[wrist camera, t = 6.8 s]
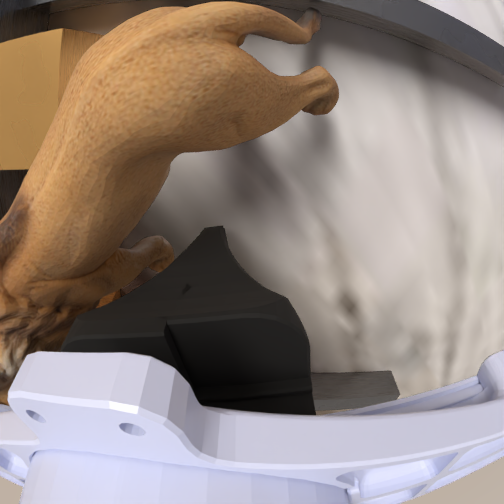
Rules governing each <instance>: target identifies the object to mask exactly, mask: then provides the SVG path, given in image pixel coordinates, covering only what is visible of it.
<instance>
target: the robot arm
mask: <svg viewBox="0 0 504 504" xmlns="http://www.w3.org/2000/svg"><path fill="white" fill-rule="evenodd" d="M312 392H313V388H312V382H311V376H310V344H309V340H308V337H307V334H306V331H305V329H304V327H303V325H302V322H301V320H300V319H299V317H298V315H297V313H296V311H295V310H294V308H293V307H292V305H291V303H290V302H289V300H288V299H287V298H286V297H284V296H282V295H279V294H277V293H275V292H272V291H270V290H268V289H266V288H265V287H263V286H262V285H260V284H259V283H258V282H257V281H255V280H254V279H253V278H251V277H250V276H249V275H248V274H247V273H246V272H245V271H244V269H243V268H242V267H241V266H240V265H239V263H238V262H237V261H236V259H235V258H234V256H233V255H232V253H231V251H230V249H229V247H228V243H227V238H226V233H225V228H223V226H216V227H208V228H204V229H203V231H202V232H201V234H200V235H199V236H198V237H197V238H196V239H195V240H194V241H193V243H192V244H191V245H190V246H189V247H188V248H187V249H186V250H185V251H184V252H183V253H182V254H181V255H180V256H179V257H178V258H176V259H175V260H174V261H173V262H172V263H171V264H170V265H169V266H168V267H167V268H165V269H164V270H163V271H162V272H160V273H159V274H158V275H156V276H155V277H154V278H152V279H151V280H149V281H148V282H146V283H145V284H143V285H141V286H140V287H138V288H137V289H135V290H133V291H132V292H130V293H128V294H126V295H124V296H123V297H121V298H119V299H117V300H114V301H112V302H110V303H108V304H106V305H104V306H101V307H98V308H96V309H93V310H91V311H88V312H85V313H83V314H80V315H77V317H76V319H75V321H74V323H73V324H72V326H71V328H70V330H69V332H68V334H67V336H66V338H65V340H64V342H63V344H62V346H61V351H60V352H45V351H39V352H35V353H32V354H28V355H27V356H26V358H25V360H24V362H23V363H22V365H21V367H20V369H19V371H18V373H17V375H16V377H15V379H14V381H13V383H12V385H11V387H10V389H9V391H8V403H9V405H10V406H7V405H3V404H0V476H1V477H3V478H5V479H7V480H9V481H12V482H13V483H15V484H18V485H20V486H22V487H23V490H22V494H21V497H20V501H19V504H400V503H403V502H406V501H408V500H411V499H414V498H417V497H419V496H421V495H424V494H427V493H429V492H431V491H434V490H436V489H438V488H441V487H443V486H445V485H447V484H450V483H452V482H454V481H456V480H458V479H460V478H463V477H464V476H467V475H469V474H471V473H473V472H475V471H477V470H479V469H481V468H483V467H485V466H486V465H488V464H490V463H492V462H494V461H496V460H498V459H500V458H502V457H503V456H504V350H502V351H499V352H497V353H494V354H492V355H490V356H489V357H488V358H486V359H485V360H484V362H483V363H482V365H481V366H480V368H479V371H478V374H477V375H476V376H473V377H470V378H468V379H465V380H462V381H459V382H456V383H453V384H450V385H447V386H444V387H440V388H437V389H434V390H431V391H427V392H424V393H420V394H417V395H413V396H409V397H405V398H402V399H398V400H394V401H389V402H385V403H381V404H377V405H372V406H367V407H363V408H358V409H353V410H347V411H342V412H336V413H330V414H324V415H316V412H315V406H314V400H313V394H312Z"/></svg>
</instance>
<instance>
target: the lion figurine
mask: <svg viewBox="0 0 504 504" xmlns="http://www.w3.org/2000/svg"><path fill="white" fill-rule="evenodd" d="M321 20H322V18H321V13H320V11H319V10H317V9H315V8H312V7H309V8H308V9H307V10H306V11H305V12H304V14H303V15H302V17H301V18H300V19H298V20H297V22H296V23H295V22H294V21H292V20H291V19H289V18H288V17H286V16H284V15H282V14H280V13H278V12H276V11H274V10H271V9H268V8H265V7H262V6H259V5H253V4H247V3H240V2H230V1H225V2H209V3H204V4H199V5H194V6H190V7H187V8H186V7H159V8H155V9H151V10H149V11H146V12H144V13H141V14H139V15H137V16H134V17H132V18H130V19H128V20H126V21H125V22H123V23H122V24H120V25H119V26H117V27H116V28H114V29H113V30H111V31H110V32H109V33H107V34H106V35H104V36H103V37H102V38H100V39H99V40H98V41H97V42H96V43H94V44H93V45H92V46H91V47H90V48H89V49H88V50H87V51H86V52H85V53H84V54H83V56H82V57H81V59H80V60H79V62H78V63H77V65H76V67H75V69H74V71H73V73H72V75H71V78H70V80H69V83H68V85H67V87H66V90H65V92H64V95H63V97H62V100H61V103H60V105H59V107H58V110H57V112H56V115H55V117H54V120H53V122H52V124H51V126H50V128H49V131H48V133H47V135H46V137H45V139H44V141H43V143H42V146H41V148H40V150H39V152H38V154H37V155H36V157H35V159H34V161H33V163H32V165H31V167H30V169H29V170H28V172H27V174H26V176H25V178H24V180H23V182H22V185H21V187H20V189H19V191H18V193H17V195H16V198H15V200H14V202H13V204H12V205H11V207H10V209H9V211H8V212H7V214H6V215H5V216H4V217H3V218H2V219H1V221H0V404H3V405H7V406H10V405H9V403H8V391H9V389H10V387H11V385H12V383H13V381H14V379H15V377H16V375H17V373H18V371H19V369H20V367H21V365H22V363H23V362H24V360H25V358H26V356H27V355H28V354H32V353H35V352H39V351H45V352H60V351H61V346H62V344H63V342H64V340H65V338H66V336H67V334H68V332H69V330H70V328H71V326H72V324H73V323H74V321H75V319H76V317H77V315H80V314H83V313H85V312H88V311H91V310H93V309H96V307H97V306H98V304H99V302H100V299H101V298H102V297H104V296H107V295H109V294H111V293H113V292H115V291H117V290H119V289H120V288H122V287H124V286H126V285H127V284H129V283H130V282H131V281H133V280H134V279H135V278H136V277H137V276H138V275H139V274H140V273H141V271H142V270H143V269H144V268H146V267H147V266H149V268H150V269H152V270H155V271H157V272H162V271H163V270H164V269H165V268H167V267H168V266H169V265H170V264H171V263H172V262H173V261H174V253H173V248H172V246H171V244H170V243H169V242H168V241H167V240H166V239H165V238H164V237H162V236H159V235H155V236H151V237H147V238H144V239H142V240H140V241H139V242H138V243H136V244H135V245H134V246H133V247H132V248H130V249H129V250H128V249H125V248H118V247H119V246H120V245H121V243H122V242H123V240H124V239H125V238H126V237H127V236H128V234H129V233H130V232H131V231H132V230H133V229H134V228H135V226H136V225H137V223H138V222H139V221H140V219H141V218H142V216H143V215H144V214H145V212H146V211H147V210H148V209H149V207H150V206H151V204H152V202H153V201H154V199H155V198H156V196H157V195H158V193H159V191H160V189H161V188H162V186H163V184H164V182H165V180H166V178H167V177H168V174H169V171H170V164H171V162H172V161H173V159H174V158H175V157H176V156H177V155H179V154H181V153H184V152H202V151H213V150H222V149H226V148H229V147H232V146H235V145H237V144H240V143H243V142H246V141H249V140H252V139H255V138H257V137H260V136H262V135H264V134H266V133H268V132H270V131H272V130H274V129H276V128H277V127H279V126H281V125H282V124H284V123H285V122H287V121H288V120H289V119H291V118H292V117H293V116H294V115H296V114H297V113H298V112H299V111H300V110H302V111H304V112H308V113H311V114H313V115H323V114H328V113H329V112H330V111H331V110H332V109H333V108H334V106H335V105H336V103H337V101H338V98H339V89H338V85H337V83H336V81H335V79H334V78H333V77H332V76H331V75H330V73H329V72H328V71H327V70H326V69H324V68H323V67H321V66H315V67H313V68H311V69H309V70H306V71H304V72H303V73H301V74H300V75H296V76H278V75H276V74H274V73H272V72H270V71H269V70H268V69H267V68H265V67H264V66H263V65H262V64H261V63H259V62H258V61H257V60H256V59H255V58H253V57H252V56H251V55H250V54H248V53H247V52H245V51H244V50H242V49H240V48H239V46H240V45H242V44H243V42H244V39H245V37H246V35H248V34H253V35H258V36H262V37H266V38H270V39H273V40H278V41H283V42H286V43H289V44H306V43H308V42H309V41H310V40H311V38H312V35H313V34H314V33H316V32H317V31H319V30H320V22H321Z"/></svg>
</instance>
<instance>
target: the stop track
mask: <svg viewBox="0 0 504 504" xmlns="http://www.w3.org/2000/svg"><path fill="white" fill-rule="evenodd" d="M125 1H137V0H0V221H1V219H2V218H3V217H4V216H5V215H6V214H7V212H8V211H9V209H10V207H11V205H12V204H13V202H14V200H15V198H16V195H17V193H18V191H19V189H20V187H21V185H22V182H23V180H24V178H25V176H26V174H27V172H28V170H29V169H30V167H31V165H32V163H33V161H34V159H35V157H36V155H37V154H38V152H39V150H40V148H41V146H42V143H43V141H44V139H45V137H46V135H47V133H48V131H49V128H50V126H51V124H52V122H53V120H54V117H55V115H56V112H57V110H58V107H59V105H60V103H61V100H62V97H63V95H64V92H65V90H66V87H67V85H68V83H69V80H70V78H71V75H72V73H73V71H74V69H75V67H76V65H77V63H78V62H79V60H80V59H81V57H82V56H83V54H84V53H85V52H86V51H87V50H88V49H89V48H90V47H91V46H92V45H93V44H94V43H96V42H97V41H98V40H99V39H100V38H102V37H103V36H104V35H100V34H95V33H89V32H84V31H78V30H72V29H65V28H61V29H56V30H51V31H47V27H48V20H49V13H54V12H58V11H63V10H68V9H74V8H79V7H85V6H92V5H99V4H106V3H115V2H125ZM225 1H237V2H248V3H256V4H264V5H272V6H278V7H284V8H290V9H296V10H301V11H306V10H307V9H308V8H309V7H312V8H315V9H317V10H319V11H320V13H321V15H325V16H329V17H333V18H337V19H341V20H345V21H349V22H352V23H356V24H359V25H363V26H366V27H369V28H373V29H376V30H379V31H382V32H385V33H388V34H391V35H393V36H396V37H399V38H402V39H404V40H407V41H410V42H412V43H415V44H417V45H420V46H422V47H425V48H427V49H429V50H432V51H434V52H436V53H439V54H441V55H443V56H445V57H447V58H450V59H452V60H454V61H456V62H458V63H460V64H462V65H464V66H466V67H468V68H470V69H472V70H474V71H476V72H478V73H479V74H481V75H483V76H485V77H487V78H488V79H490V80H492V81H494V82H495V83H497V84H499V85H501V86H502V87H504V47H503V46H502V45H500V44H499V43H497V42H495V41H494V40H492V39H491V38H489V37H487V36H486V35H484V34H483V33H481V32H479V31H478V30H476V29H474V28H472V27H471V26H469V25H467V24H465V23H463V22H462V21H460V20H458V19H456V18H454V17H452V16H450V15H448V14H446V13H444V12H442V11H440V10H438V9H436V8H434V7H432V6H430V5H427V4H425V3H423V2H421V1H418V0H225ZM119 298H121V296H120V289H119V290H117V291H115V292H113V293H111V294H109V295H107V296H104V297H102V298H101V299H100V302H99V304H98V306H97V307H96V308H98V307H101V306H104V305H106V304H108V303H110V302H112V301H114V300H117V299H119ZM310 376H311V382H312V388H313V392H312V394H313V400H314V406H315V411H317V410H339V409H354V408H363V407H367V406H372V405H377V404H381V403H385V402H389V401H394V400H396V399H397V398H398V397H399V395H400V393H399V390H398V387H397V385H396V382H395V380H394V377H393V375H392V372H391V371H380V372H358V373H310Z"/></svg>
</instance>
